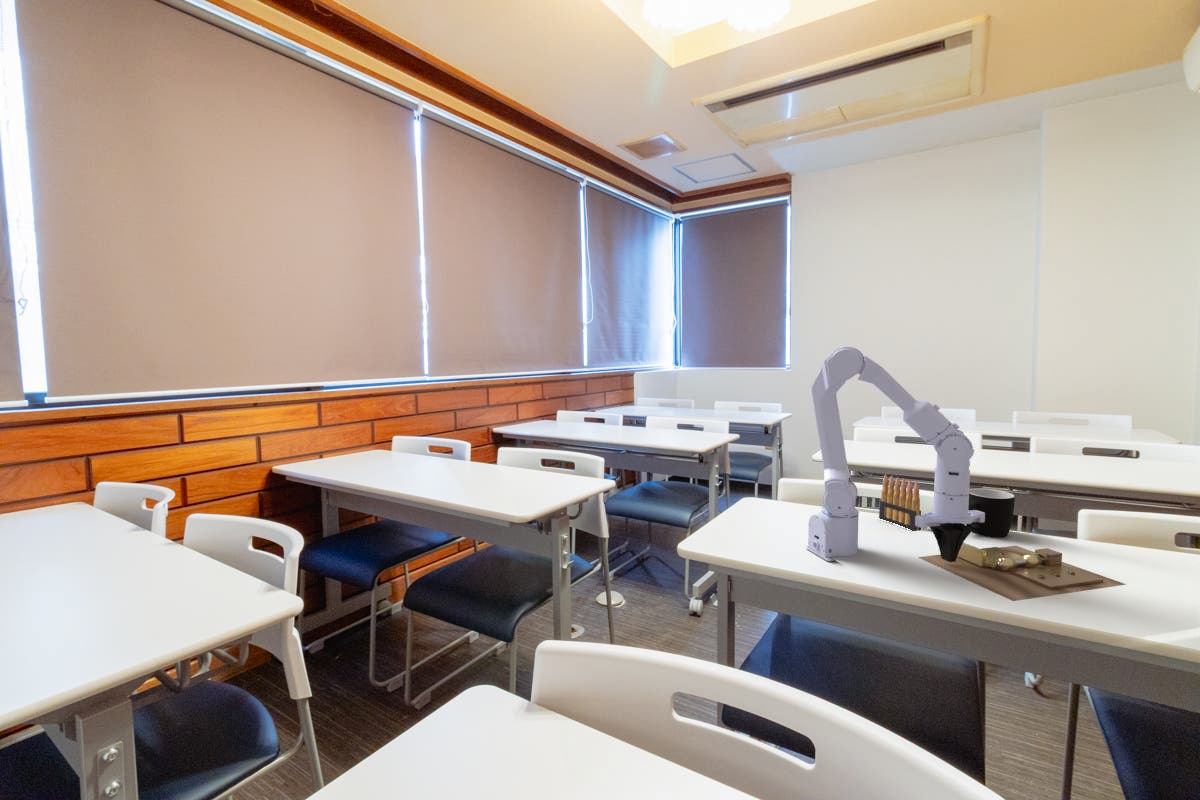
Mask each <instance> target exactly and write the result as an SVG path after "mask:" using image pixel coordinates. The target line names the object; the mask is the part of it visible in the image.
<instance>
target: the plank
mask: <svg viewBox="0 0 1200 800" xmlns="http://www.w3.org/2000/svg"><path fill="white" fill-rule="evenodd" d="M998 548H1001V549H1004V550H1006V551H1009V552H1012V553H1014V554H1017V555H1020V556H1023V555H1031V554H1035V551H1032V550H1029V549H1027V548H1025V547H1022V546H1018V545H1011V546H1010V545H1009V546H1008V545H1007V546H1001V547H999V546H998ZM918 558H919V559H921V560H923V561H925V562H928V563H930V564H932V565H933V566H937V568H941V569H943V570H944V571H947V572H949V573H951V574H954V575H955V576H958V577H960V578H962V579H965V580H966V581H969V582H971V583H972V584H976V585H977V586H979V587H982V588H984V589H986V590H988V591H990V592H992V593H994V594H997V595H999V596H1001V597H1004V598H1005V599H1009V600H1010V601H1012V602H1014V601H1022V600H1030V599H1036V598H1042V597H1043V598H1044V597H1049V596H1055V595H1062V594H1068V593H1075V592H1076V593H1077V592H1083V591H1089V590H1090V591H1092V590H1096V589H1097V590H1099V589H1103V588H1110V587H1116V586H1117V587H1118V586H1125V585H1126V583H1123V582H1121V581H1119V580H1115V579H1112V578H1109V577H1106V576H1104V575H1101V574H1097V573H1095V572H1093V571H1089V570H1086V569H1084V568H1081V567H1078V566H1075V565H1073V564H1069V563H1067V562H1064V561H1062V565H1065V566H1068V567H1070V568H1073V569H1076V570H1079V571H1082V572H1084V573H1087V574H1090V575H1093V576H1096V577H1098V578H1101V579H1103V583H1097V584H1090V585H1083V586H1076V587H1069V588H1062V589H1055V590H1049V589H1047V588H1044V587H1042V586H1039V585H1037V584H1035V583H1032V582H1030V581H1027V580H1025V579H1022V578H1020V577H1017V576H1015V575H1013V574H1012V571H1017V570H1024V569H1032V568H1040V567H1046V564H1041V565H1040V566H1034V567H1025V566H1023V565H1021V566H1017V567H1016V568H1015V569H1011V570H1003V571H1002V570H999V569H994V568H991V567H986V566H983V567H982V566H979V565H977V564H975V563H972V562H970V561H967V560H965V559H963V558H960V557H958V556H957V559H956V561H955V562H948V561H946V560H944V559H942V558H941V554H933V555H925V556H918Z"/></svg>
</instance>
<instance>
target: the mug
mask: <svg viewBox="0 0 1200 800" xmlns="http://www.w3.org/2000/svg"><path fill="white" fill-rule="evenodd" d="M1015 499H1016V497H1015V494H1013V493H1010V492H1009V491H1004V490H999V489H993V488H982V487H980V488H977V487H976V488H969V506H968V510H977V511H981V512H984V513H985V522H982V523H980V522H972V523H971V524H965V525H966V526H969V527H971V534H974V535H978V536H982V537H987V538H992V539H993V538H994V539H1004V538H1007V537H1008V536H1009V534H1010V530H1011V527H1012V523H1013V519H1014V512H1015V504H1016V502H1015V501H1016V500H1015Z"/></svg>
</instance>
